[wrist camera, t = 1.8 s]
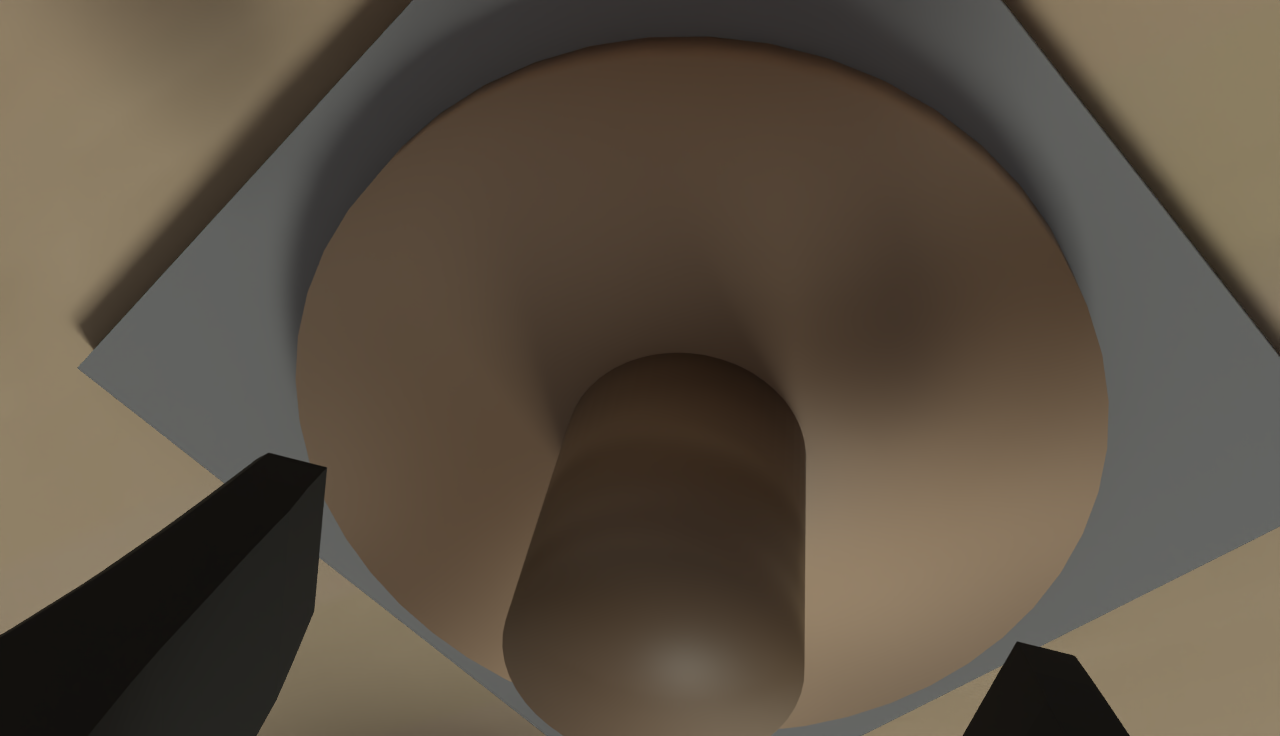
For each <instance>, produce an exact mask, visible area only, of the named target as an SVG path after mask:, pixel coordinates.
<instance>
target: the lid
mask: <svg viewBox="0 0 1280 736" xmlns="http://www.w3.org/2000/svg"><path fill="white" fill-rule="evenodd" d="M296 390H297V400H298V410H299V421H300V425H301V429H302V433H303V437H304V442H305V446H306V450H307V454H308V458H309V462H310V463H312V464H316V465H320V466H324V467H327V475H326V486H325V497H324V500H325V502H326V504H327V506H328V507H329V509H330V511H331V513H332V515H333V516H334V518H335V520H336V522H337V524H338V525H339V527H340V529H341V531H342V532H343V534H344V536H345V538H346V539H347V541H348V542H349V544H350V545H351V546H352V548H353V549H354V550H355V552H356V553H357V554H358V556H359V557H360V559H361V560H362V561H363V563H364V564H365V565H366V567H367V568H368V570H369V571H370V572H371V573H372V575H373V576H374V577H375V578H376V579H377V580H378V581H379V582H380V583H381V584H382V585H383V586H384V588H385V589H386V590H387V591H388V592H389V593H390V594H391V595H392V596H393V597H394V598H395V600H396V601H397V602H398V603H399V604H400V605H401V606H402V607H404V608H405V609H406V610H407V611H408V612H409V613H410V614H412V615H413V616H414V617H415V618H416V619H417V620H418V621H420V622H421V623H422V624H423V625H424V626H425V627H426V628H428V629H429V630H430V631H431V632H432V633H434V634H435V635H436V636H438V637H439V638H441V639H442V640H443V641H445V642H446V643H448V644H449V645H450V646H452V647H453V648H455V649H456V650H458V651H459V652H460V653H462V654H463V655H465V656H466V657H467V658H469V659H471V660H473V661H474V662H476V663H478V664H480V665H481V666H483V667H485V668H487V669H488V670H490V671H492V672H494V673H495V674H497V675H499V676H501V677H502V678H504V679H506V680H508V681H510V682H513V684H514V686H515V688H516V690H517V691H518V693H519V694H520V696H521V697H522V699H523V700H524V702H525V703H526V704H527V705H528V706H529V707H530V708H531V709H532V711H533V712H534V713H535V714H536V715H537V716H538V717H540V718H541V719H542V720H543V721H544V722H545V723H546V724H548V725H549V726H550V727H552V728H553V729H554V730H556V731H557V732H559V733H560V734H561V735H563V736H771V735H772V734H773V733H775V732H776V731H777V730H778V729H784V728H793V727H801V726H808V725H812V724H817V723H822V722H826V721H831V720H836V719H840V718H845V717H849V716H852V715H855V714H859V713H862V712H865V711H868V710H871V709H874V708H877V707H880V706H884V705H887V704H890V703H892V702H894V701H897V700H899V699H901V698H903V697H906V696H908V695H910V694H913V693H915V692H917V691H919V690H922V689H924V688H926V687H928V686H931V685H932V684H934V683H936V682H937V681H939V680H941V679H943V678H944V677H946V676H948V675H949V674H951V673H953V672H955V671H956V670H958V669H960V668H962V667H963V666H965V665H967V664H968V663H970V662H971V661H972V660H974V659H975V658H976V657H978V656H979V655H980V654H982V653H983V652H984V651H986V650H987V649H988V648H990V647H991V646H992V645H994V644H995V643H996V642H997V641H999V640H1000V639H1001V638H1003V637H1004V636H1005V635H1006V634H1007V633H1008V632H1009V631H1010V630H1011V629H1012V628H1013V627H1014V626H1015V625H1016V624H1017V623H1018V622H1019V621H1020V620H1021V619H1022V618H1023V617H1024V616H1025V615H1026V614H1027V613H1028V612H1029V611H1030V610H1032V609H1033V608H1034V606H1035V605H1036V604H1037V603H1038V601H1039V600H1040V599H1041V597H1042V596H1043V595H1044V594H1045V592H1046V591H1047V590H1048V588H1049V587H1050V586H1051V585H1052V583H1053V582H1054V581H1055V579H1056V578H1057V577H1058V576H1059V574H1060V573H1061V571H1062V570H1063V568H1064V566H1065V564H1066V563H1067V561H1068V559H1069V557H1070V556H1071V554H1072V552H1073V550H1074V549H1075V547H1076V545H1077V543H1078V541H1079V540H1080V538H1081V536H1082V534H1083V532H1084V529H1085V526H1086V524H1087V521H1088V519H1089V516H1090V513H1091V511H1092V508H1093V505H1094V503H1095V500H1096V497H1097V495H1098V491H1099V486H1100V482H1101V477H1102V472H1103V467H1104V462H1105V457H1106V452H1107V439H1108V409H1109V400H1108V393H1107V385H1106V378H1105V371H1104V363H1103V356H1102V352H1101V348H1100V345H1099V342H1098V339H1097V336H1096V332H1095V329H1094V326H1093V323H1092V320H1091V316H1090V313H1089V310H1088V307H1087V304H1086V302H1085V300H1084V297H1083V295H1082V293H1081V290H1080V288H1079V286H1078V283H1077V281H1076V279H1075V277H1074V274H1073V272H1072V270H1071V268H1070V266H1069V264H1068V262H1067V260H1066V258H1065V256H1064V254H1063V252H1062V250H1061V248H1060V246H1059V244H1058V242H1057V240H1056V238H1055V236H1054V234H1053V232H1052V230H1051V228H1050V227H1049V225H1048V224H1047V222H1046V221H1045V220H1044V218H1043V217H1042V215H1041V214H1040V213H1039V211H1038V210H1037V208H1036V207H1035V206H1034V204H1033V203H1032V201H1031V200H1030V199H1029V197H1028V196H1027V194H1026V193H1025V192H1024V190H1023V189H1022V187H1021V186H1020V185H1019V184H1018V183H1017V181H1016V180H1015V179H1014V178H1013V177H1012V176H1011V175H1010V174H1009V173H1008V172H1007V171H1006V170H1005V169H1004V168H1003V167H1002V166H1001V165H1000V164H999V163H998V162H997V161H996V160H995V159H994V158H993V157H992V156H991V155H990V154H989V153H988V152H987V151H986V150H985V148H984V147H983V146H982V145H980V144H979V143H978V142H977V141H975V140H974V139H973V138H971V137H970V136H969V135H967V134H966V133H965V132H964V131H962V130H961V129H960V128H958V127H957V126H956V125H955V124H953V123H952V122H951V121H949V120H948V119H947V118H945V117H944V116H943V115H942V114H940V113H939V112H938V111H936V110H935V109H933V108H931V107H930V106H928V105H926V104H924V103H922V102H921V101H919V100H917V99H915V98H914V97H912V96H910V95H908V94H907V93H905V92H903V91H901V90H900V89H898V88H896V87H894V86H893V85H891V84H889V83H887V82H886V81H884V80H881V79H879V78H876V77H874V76H871V75H869V74H866V73H864V72H861V71H859V70H856V69H854V68H851V67H849V66H846V65H844V64H841V63H839V62H836V61H834V60H831V59H829V58H825V57H821V56H817V55H813V54H809V53H805V52H801V51H797V50H793V49H789V48H785V47H781V46H777V45H773V44H769V43H761V42H752V41H744V40H735V39H726V38H718V37H709V36H705V37H648V38H641V39H634V40H628V41H621V42H614V43H608V44H601V45H594V46H589V47H585V48H582V49H578V50H575V51H572V52H568V53H565V54H561V55H558V56H555V57H551V58H548V59H544V60H541V61H538V62H534V63H532V64H530V65H528V66H525V67H523V68H521V69H519V70H517V71H514V72H512V73H510V74H508V75H506V76H503V77H501V78H499V79H497V80H495V81H492V82H490V83H488V84H486V85H484V86H482V87H481V88H479V89H477V90H476V91H474V92H473V93H471V94H470V95H468V96H467V97H465V98H463V99H462V100H460V101H459V102H457V103H456V104H454V105H452V106H451V107H449V108H448V109H446V110H445V111H443V112H442V113H440V114H439V115H438V116H437V117H435V118H434V119H433V120H432V121H431V122H430V123H429V124H427V125H426V126H425V127H424V128H423V129H422V130H421V131H419V132H418V133H417V134H416V135H415V136H414V137H412V138H411V139H410V140H409V141H408V142H407V143H406V144H404V145H403V146H402V147H401V148H400V150H399V151H398V152H397V153H396V154H395V155H394V157H393V158H392V159H391V160H390V161H389V162H388V164H387V165H386V166H385V167H384V168H383V169H382V171H381V172H380V173H379V174H378V175H377V176H376V178H375V179H374V180H373V181H372V182H371V184H370V185H369V186H368V187H367V188H366V190H365V191H364V192H363V193H362V194H361V195H360V197H359V198H358V199H357V200H356V201H355V203H354V204H353V205H352V206H351V207H350V209H349V210H348V211H347V213H346V215H345V216H344V218H343V220H342V222H341V223H340V225H339V227H338V228H337V230H336V232H335V233H334V235H333V237H332V238H331V240H330V242H329V243H328V245H327V247H326V248H325V250H324V252H323V255H322V257H321V260H320V262H319V265H318V267H317V270H316V272H315V275H314V278H313V280H312V283H311V285H310V288H309V290H308V293H307V297H306V302H305V306H304V311H303V315H302V320H301V324H300V329H299V334H298V344H297V362H296Z"/></svg>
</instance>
